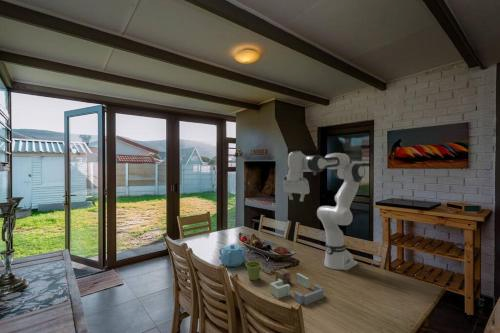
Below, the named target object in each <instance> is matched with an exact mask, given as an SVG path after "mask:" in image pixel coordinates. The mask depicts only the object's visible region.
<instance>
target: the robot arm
mask: <svg viewBox="0 0 500 333" xmlns="http://www.w3.org/2000/svg"><path fill="white" fill-rule="evenodd" d="M350 161H351V159H350V156H349V155H348V154H346V153H341V152H333V153H328V154H326V155H325V156H322V155H319V154H315V155H305V154H304V153H303V152H302V151H301V150H295V151H293V150H292V151H291V152H289V153H288V156H287V167H288V172H287V174H286V175H285V176H283V177H282V180H283V182H282V184H283V185H282V187H283V188H282V190H283V192H284V193H287V195H288V199H289V200H290V201H293V200H294V197H293V195H292V194H300V197H299V202H304V199H305V195H308V194H310V183H309V180H308V179H307V178H306V177H304V172H306V173H307V172H309V173H310V172H311V173H320V172H322V171H324V170H325V169H327V170H333V175H334V177H335V178H337V179H339V180H343V183H342V184H341V186H340V188H338V191H337V193H336V194H335V195H334V201H335V203H336V205H335V206H331V205H321V206H319V207H318V208H317V210H316V216H317V218H318V220H320V221H321V222H320V223H322V225H323V228H324V232H325V245H324V246H325V252H324V255H325V256H324V260H323V261H324V263H323V264H324V266H325V267H327V268H329V269H332V270H343V271H348V270H350V269H352V268H353V267H355V266H356V265H358V262H357V261H356V260H355V259H354V255H353V254H352V253H351V252H350V251H348V250H347V248H349V245H348V244H347V243H344V233H343V230H341V229H340V227H339V226H349V225H350V224H351V223H352V222H353V217H354V216H353V213H352V211H351V210H350V208H351V204H352V202H353V201H354V198H355V196H356V195H357V193H358V191H359V190H358V189H359V185H360V184H359V183H361V181H362V179H363V178H364V176H365V173H366V168H365V166H364V165H363V164H361V163H360V164H359V163H350Z"/></svg>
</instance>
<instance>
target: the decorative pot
mask: <svg viewBox="0 0 500 333" xmlns="http://www.w3.org/2000/svg"><path fill="white" fill-rule="evenodd" d="M222 250H223V252H222ZM246 253H247V251H246V249H245V248H242V247H241V246H240V245H237V244H234V243H232V244H229V245H226V246H225V247H220V249H219V254H220V256H219V257H218V259H219V260H220V262H221V264H222V265H223V264H224V266H225V265H226V266H227V267H234V268H238V267H240V266H241V265H242V264H243V262H247V257H246ZM226 266H225V267H226ZM237 266H238V267H237Z"/></svg>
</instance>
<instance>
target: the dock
mask: <svg viewBox="0 0 500 333" xmlns="http://www.w3.org/2000/svg"><path fill="white" fill-rule="evenodd" d="M293 294H294V295H293V296H294V297H293V298H294V299H293V300H294V301H295V302H296V303H298V304H299V303H300V304H299V305H301V304H302V305H304V306H307V305H309V304H312V303H314V302H318V301H319V300H323V299H324V287H321V286H320V285H318V284H314V285H313V291H311V292H309V293H306V294H302V293H300V292H298V291H293Z"/></svg>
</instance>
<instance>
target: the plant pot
mask: <svg viewBox="0 0 500 333" xmlns="http://www.w3.org/2000/svg"><path fill="white" fill-rule="evenodd" d="M245 266H246V268H247V274H248V278H249V280H250V281H258V280H259V279H260V272H261V266H262V262H260V261H256V260H252V261H248V262H247V263H245Z"/></svg>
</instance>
